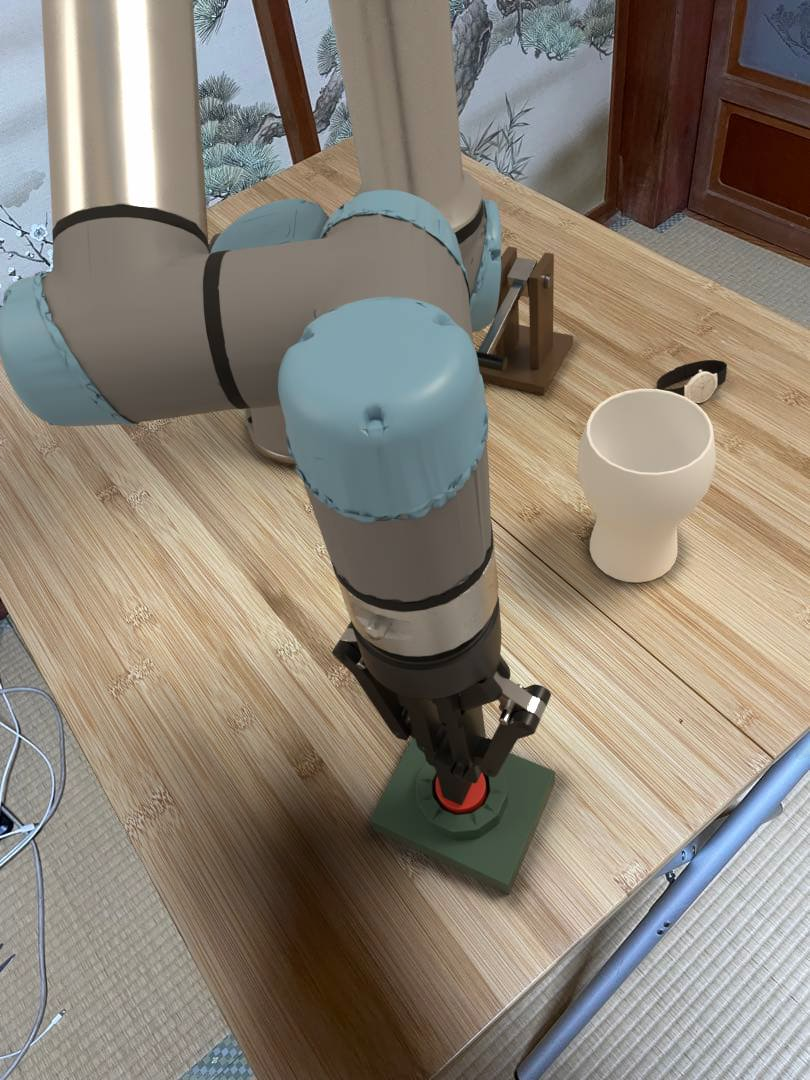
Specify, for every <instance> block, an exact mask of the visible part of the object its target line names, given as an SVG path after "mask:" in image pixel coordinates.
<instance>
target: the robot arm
mask: <svg viewBox="0 0 810 1080" xmlns="http://www.w3.org/2000/svg"><path fill="white" fill-rule="evenodd" d="M40 2H41V18H42V19H41V21H42V40H43V60H44V61H43V62H44V81H45V100H46V101H45V103H46V121H47V140H48V141H47V142H48V143H47V145H48V162H49V163H48V164H49V165H48V166H49V183H50V202H51V222H52V223H51V224H52V226H51V227H52V229H51V233H52V235H51V237H52V270H51V271H46V270H41V271H38V272H36V273H34V275H32V276H27V277H23V278H20V279H17V280H15V281H13V282H12V283H11V284H10V285H9V286H8V287H7V289H6V290H5V291H4V293H3V299H2V302H3V305H2V306H1V307H0V360H1V363H2V366H3V370H4V372H5V374H6V377H7V379H8V381H9V384H10V385H11V387H12V389H13V390H14V392H15V394H16V395H17V397H18V398H19V400H20V401H21V404H23V405H24V406H25V408H27V409H28V411H29V412H31V414H33V415H35V416H36V417H37V418H39V419H40V420H42V421H44V422H46V423H48V424H49V425H50V426H58V427H66V428H67V427H92V426H93V427H94V426H112V425H123V426H128V427H129V426H135V425H137V426H138V425H139V424H140V423H144V422H152V421H160V420H165V419H166V420H167V419H173V418H180V417H189V416H195V415H201V414H202V415H203V414H209V413H216V412H223V411H230V410H245V423H246V427H247V431H248V434H249V437H250V439H251V441H252V444H253V445H254V447H255V449H256V450H257V451H258V452H259V454H261V456H263V457H265V458H266V459H268V460H269V461H271V462H273V463H275V464H278V465H282V466H285V467H291V468H295V469H296V473H297V475H298V477H299V478H300V479H301V480H302V482H303V486H304V488H305V491H306V494H307V496H308V500H309V502H310V505H311V508H312V511H313V514H314V516H315V520H316V522H317V525H318V529H319V531H320V533H321V537H322V539H323V542H324V545H325V548H326V551H327V553H328V554H327V555H328V557H329V560H330V563H331V566H332V569H333V572H334V575H335V578H336V582H337V583H338V587H339V590H340V592H341V596H342V599H343V602H344V605H345V607H346V610H347V614H348V616H349V620H350V621H349V624H348V626H347V627H346V628H345V630H344V631H343V633H342V635H341V636H340V638H339V639H338V640H337V641H338V642H337V643H336V645H335V646H334V647H333V649H332V651H331V654H332V655H333V656H334V657H335V658H336V659H337V660H338V662H339V663H340V664H341V665H343V666H344V667H345V668H346V669H347V670H348V671H349V672H350V673H351V674H352V675H353V677H354V678H355V680H356V681H357V683H358V684H359V686H360V687H361V688H362V690H363V692H364V694H365V695H366V697H368V699H369V701H370V702H371V703H372V705H373V706H374V708H375V710H376V711H377V712H378V714H379V716H380V717H381V719H382V720H383V722H384V723H385V725H386V726H387V728H388V729H389V731H390V732H391V733H392V735H393V736H395V738H397V739H399V740H401V741H408V739H409V738H410V737H411V739H412V738H414V739H415V740H416V744H417V747H418V748H419V749H420V750H421V751H422V752H423V753H424V754H425V758H426V761H427V762H428V764H429V765H431V766H433V767H435V768H436V772H437V776H438V780H439V784H440V788H441V792H442V796H443V798H446V799H448V800H450V801H452V802H455V803H457V804H459V805H461V806H462V804H463V802H464V800H465V798H466V796H467V794H468V791H469V789H470V787H471V785H472V783H474V784H475V783H477V781H478V779H479V777H480V775H481V773H482V772H483V773H484V774H485V775H487V776H490V777H496V776H497V774H498V772H499V770H500V769H501V767H502V765H503V764H504V762H505V760H506V758H507V757H508V755H509V753H512V752H511V751H512V750H513V748H514V746H515V745H516V743H517V741H518V740H520V739H523V738H526V737H529V736H532V735H534V734H535V733H536V732H537V729H538V726H539V724H540V722H541V720H542V717H543V715H544V713H545V710H546V708H547V706H548V704H549V702H550V700H551V697H552V692H551V691H550V690H549V689H548V688H547V687H545V686H543V685H540V684H535V683H534V684H531V685H528V686H526V687H525V686H523V685H522V684H520V683H516V682H514V681H512V680H511V673H512V672H511V668H510V666H509V664H508V662H506V660H505V659H504V658H503V656H502V654H501V651H502V620H501V610H500V608H501V607H500V598H499V597H500V596H499V588H500V587H499V577H498V569H497V567H498V566H497V558H496V550H495V539H494V529H493V522H492V514H491V512H492V511H491V491H490V468H489V454H488V441H487V439H488V438H489V408H488V406H487V404H486V396H485V395H486V394H485V381H483V378H482V376H481V374H480V372H479V365H478V358H477V354H476V351H477V349H476V347H475V345H474V336H473V333H476V332H477V333H478V332H481V331H482V330H484V329H486V328H487V327H488V326H491V324H492V323H493V321H494V317H495V314H496V311H497V306H498V301H499V293H500V282H501V258H500V257H501V256H502V243H503V242H502V240H503V239H502V223H501V222H502V221H501V214H500V210H499V206H498V204H497V203H496V202H495V201H494V200H492V199H487V198H485V197H483V191H482V187H481V185H480V183H479V182H478V179H476V178H475V177H474V176H473V175H472V174H470V173H468V172H467V171H466V170H464V169H463V159H462V147H461V146H462V145H461V134H460V133H461V132H460V121H459V107H458V95H457V83H456V69H455V57H454V56H455V55H454V44H453V32H452V30H453V29H452V20H451V19H452V18H451V6H450V4H451V3H450V0H327V3H328V8H329V13H330V20H331V24H332V30H333V36H334V40H335V45H336V52H337V57H338V62H339V68H340V73H341V78H342V85H343V90H344V94H345V95H344V96H345V100H346V105H347V106H346V107H347V112H348V116H349V122H350V127H351V133H352V138H353V144H354V148H355V154H356V159H357V166H358V170H359V176H360V181H361V186H360V188H358V190H357V191H356V192H355V194H354V195H353V197H352V198H351V199H350V200H348V201H346V202H344V203H343V204H342V205H341V206H340V207H339V208H337V209H335V210H333V212H332V214H330V216H328V213H327V212H326V211H325V210H324V207H322V206H321V204H318V203H317V202H315V201H314V200H308V201H306V199H304V198H286V199H279V200H275V201H271V202H269V203H265V204H263V205H259V206H258V207H255V208H254V209H251V210H249V211H247V212H246V213H243V215H241V216H239V217H238V218H236V219H235V220H234V221H233V222H231V223H230V224H229V225H227V226H226V227H225V228H224V230H223V231H222V232H220V233H221V234H220V235H219V237H218V238H217V240H216V241H215V243H214V245H213V247H212V250H211V253H210V254H209V244H210V242H209V229H208V228H209V227H208V214H207V199H206V183H205V166H204V165H205V164H204V153H203V152H204V151H203V150H204V149H203V136H202V134H203V133H202V120H201V105H200V89H199V88H200V87H199V72H198V59H197V44H196V43H197V42H196V40H197V39H196V27H195V26H196V25H195V12H194V9H195V8H194V0H41V1H40ZM496 701H498V702H499V705H498V711H500V712H501V714H500V715H499V717H498V722H499V723H498V725H497V728H496V729H495V730H494V731H495V732H494V733H493V736H492V737H491V738H489V737H487V733H486V727H485V726H486V725H485V718H484V711H483V706H485V705H488V704H490V703H494V702H496Z"/></svg>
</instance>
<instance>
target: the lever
mask: <svg viewBox="0 0 810 1080" xmlns="http://www.w3.org/2000/svg"><path fill="white" fill-rule="evenodd" d="M537 264H538V260H536V259H530V258H526V257H525V258H524V257H518V256H517V258H516V260H515V262H514V264H513V266H512V268H511V270H510V272H509V274H508V276H507V281H508V288H509V291H508V293H507V295H506V297H505V299H504V301H503V303H502V305H501V307H500V309H499V311H498V313H497V315H496V317H495V319H493V321H492V322H491V324H490V327H489V329H488V331H487V333H486V334H485V336H484V338H483V340H482V342H481V343H480V346H479V348H478V350H476V354H477V358H478V365H479V367H481V368H486V369H490V370H495V371H499V372H504V371H505V370H506V368H507V363H508V359H507V358H506V357H502V356H497V355H493V354H492V353H493V351H494V349H495V347H496V345H497V343H498V341H499V339H500V337H501V335H502V333H503V331H504V329H505V327H506V325H507V323H508V321H509V319H510V317H511V315H512V313H513V311H514V309H515V307H516V305H517V303H518V304H519V301H520V299H521V297H524V298H529V276H530V274H531V273H532V271H533V270H534V268H535V267H536V265H537Z"/></svg>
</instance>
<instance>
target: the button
mask: <svg viewBox="0 0 810 1080" xmlns="http://www.w3.org/2000/svg"><path fill="white" fill-rule="evenodd" d="M436 792H437V796H438V799H439V802H440V805H441V806H442V808H443V809H444V810H445V811H448V812H450V813H452V814H454V815H461V814H471V813H473V812H474V811H476V810H477V809H479V808H480V807H481V806H483V805H484V803H485V801H486V798H487V789H486V782H485V778H484V775H483V773H481V775H480V777H479V779H478V781H477V783H475V784H474V783H472V785H471V787H470V789H469V791H468V794H467V796H466V798H465V800H464V802H463V804H462V806H461V805H459V804H457V803H455V802H452V801H450V800H448V799H446V798H443V796H442V792H441V788H440V784H439V780H438V776H437V779H436Z"/></svg>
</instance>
